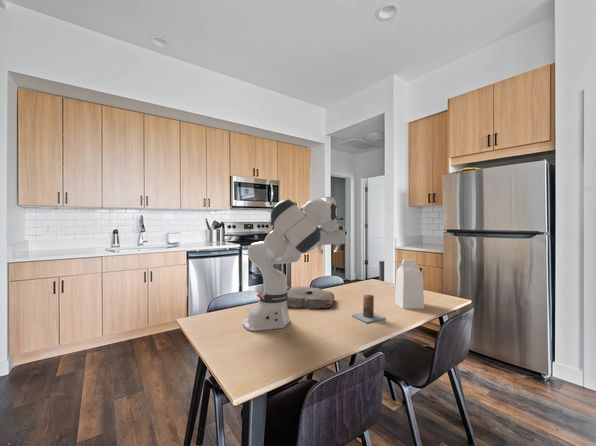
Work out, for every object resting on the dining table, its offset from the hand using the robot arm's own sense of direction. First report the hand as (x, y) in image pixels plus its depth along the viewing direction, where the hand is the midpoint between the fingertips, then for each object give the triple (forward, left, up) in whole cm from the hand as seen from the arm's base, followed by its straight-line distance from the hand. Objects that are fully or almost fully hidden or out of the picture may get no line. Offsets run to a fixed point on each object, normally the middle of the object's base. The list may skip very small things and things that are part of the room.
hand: (328, 252), depth 149 cm
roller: (+11, -19, -30) cm, 37 cm away
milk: (+45, -14, -31) cm, 57 cm away
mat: (+11, -19, -31) cm, 38 cm away
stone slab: (-2, +20, -32) cm, 37 cm away
